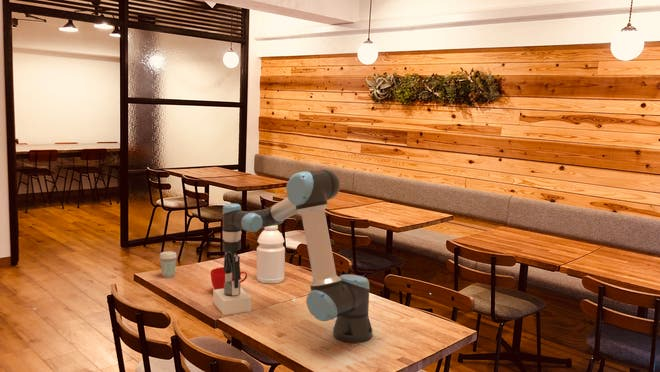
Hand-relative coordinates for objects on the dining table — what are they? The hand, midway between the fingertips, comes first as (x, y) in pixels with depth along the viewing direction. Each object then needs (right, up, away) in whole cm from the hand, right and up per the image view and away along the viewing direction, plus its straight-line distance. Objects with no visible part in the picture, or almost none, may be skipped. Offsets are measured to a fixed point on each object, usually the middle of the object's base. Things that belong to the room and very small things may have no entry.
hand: (232, 291), depth 248 cm
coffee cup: (-39, 0, +42) cm, 57 cm away
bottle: (+12, -2, +40) cm, 42 cm away
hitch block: (0, -7, +1) cm, 7 cm away
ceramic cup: (-5, -4, +21) cm, 22 cm away
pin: (0, -6, +1) cm, 7 cm away
